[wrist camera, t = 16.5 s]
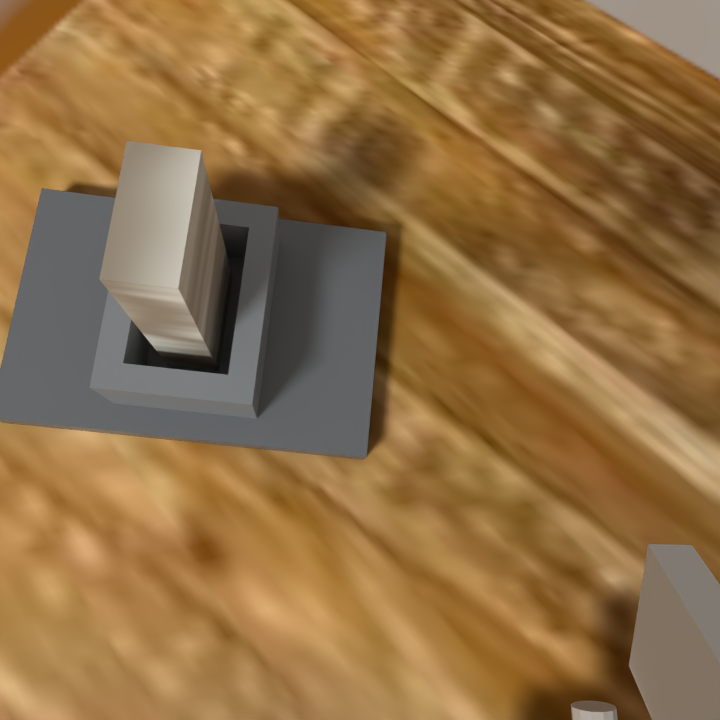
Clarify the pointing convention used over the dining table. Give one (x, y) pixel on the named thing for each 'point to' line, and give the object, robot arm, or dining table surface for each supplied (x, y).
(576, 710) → the pipe connector
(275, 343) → the rectangular socket base
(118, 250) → the slat
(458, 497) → the dining table surface
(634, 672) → the robot arm
